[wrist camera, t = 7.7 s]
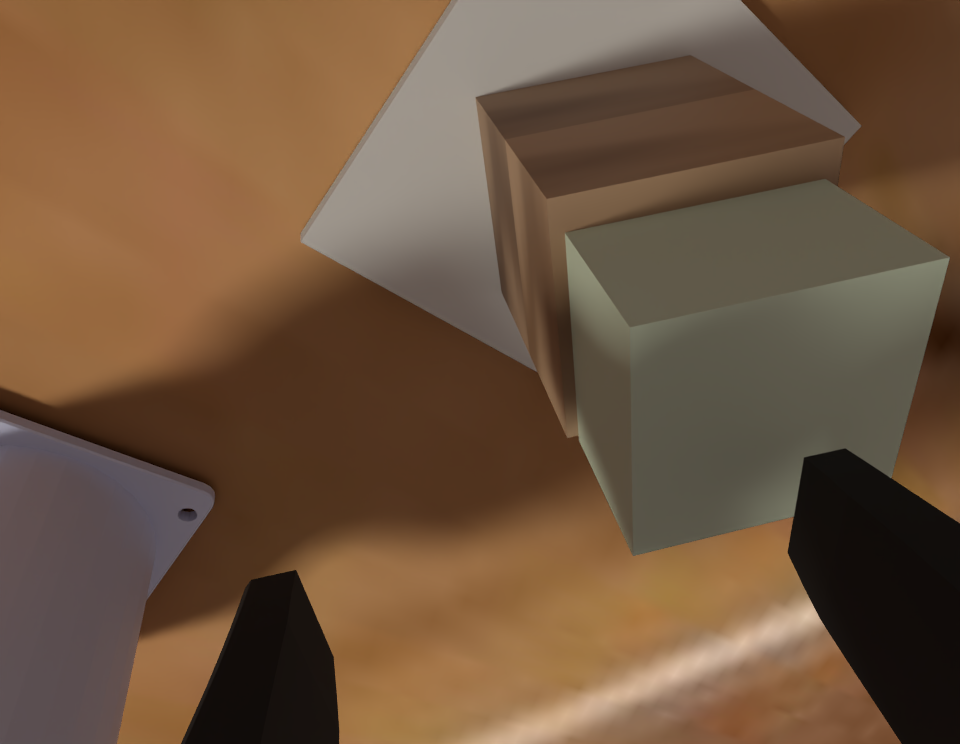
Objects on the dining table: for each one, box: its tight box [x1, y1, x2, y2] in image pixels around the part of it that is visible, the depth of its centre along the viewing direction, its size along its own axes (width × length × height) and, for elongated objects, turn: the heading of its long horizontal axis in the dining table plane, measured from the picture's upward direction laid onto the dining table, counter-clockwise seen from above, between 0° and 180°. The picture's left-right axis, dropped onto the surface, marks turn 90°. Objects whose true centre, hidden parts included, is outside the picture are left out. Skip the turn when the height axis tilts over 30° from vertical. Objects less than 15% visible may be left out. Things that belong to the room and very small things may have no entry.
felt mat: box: [301, 0, 861, 372], centre depth 19 cm, size 10×10×1 cm
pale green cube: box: [565, 179, 950, 556], centre depth 13 cm, size 4×4×3 cm
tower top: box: [505, 89, 845, 438], centre depth 15 cm, size 5×5×3 cm
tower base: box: [475, 55, 754, 354], centre depth 17 cm, size 5×5×3 cm
